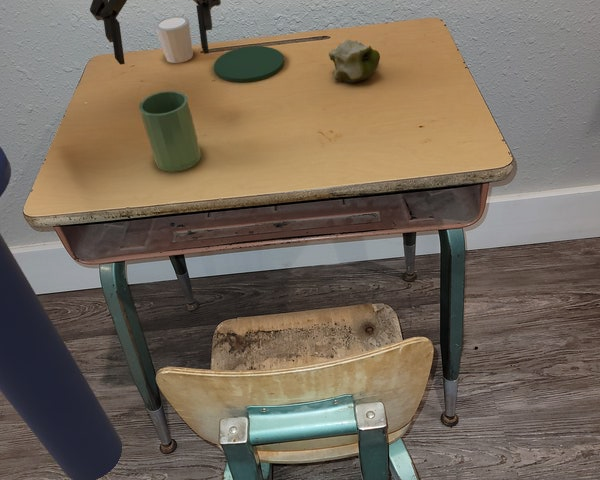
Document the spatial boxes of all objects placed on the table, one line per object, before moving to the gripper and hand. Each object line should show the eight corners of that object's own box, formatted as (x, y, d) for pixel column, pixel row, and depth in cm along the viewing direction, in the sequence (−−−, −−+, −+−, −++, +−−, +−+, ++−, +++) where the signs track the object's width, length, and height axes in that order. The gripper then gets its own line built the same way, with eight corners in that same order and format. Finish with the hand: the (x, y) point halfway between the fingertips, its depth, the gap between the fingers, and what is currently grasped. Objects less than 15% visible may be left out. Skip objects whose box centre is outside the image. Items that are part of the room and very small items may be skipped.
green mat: (232, 89, 112) (231, 85, 112) (203, 63, 121) (203, 59, 121) (296, 68, 116) (296, 64, 116) (264, 43, 125) (264, 39, 125)
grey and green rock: (383, 90, 110) (380, 52, 103) (333, 97, 111) (327, 61, 105) (378, 58, 115) (376, 20, 108) (331, 66, 116) (325, 29, 110)
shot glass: (197, 61, 122) (189, 26, 117) (163, 66, 122) (155, 32, 117) (194, 47, 127) (187, 13, 122) (162, 52, 126) (154, 18, 121)
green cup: (165, 177, 94) (148, 120, 87) (149, 156, 99) (132, 100, 92) (207, 161, 96) (194, 104, 89) (191, 141, 101) (177, 85, 94)
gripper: (226, -76, 97) (243, 55, 98) (75, -57, 97) (92, 73, 98) (220, -106, 90) (238, 36, 90) (56, -85, 90) (75, 56, 90)
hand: (162, 56), depth 94 cm, fingers open, 13 cm apart
